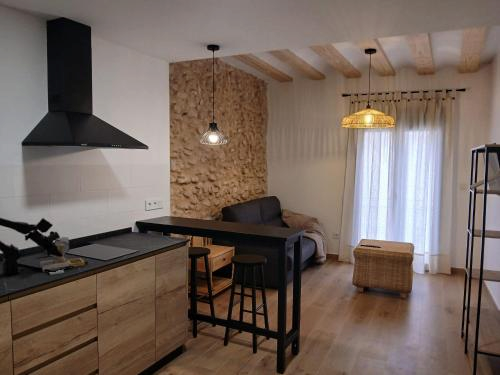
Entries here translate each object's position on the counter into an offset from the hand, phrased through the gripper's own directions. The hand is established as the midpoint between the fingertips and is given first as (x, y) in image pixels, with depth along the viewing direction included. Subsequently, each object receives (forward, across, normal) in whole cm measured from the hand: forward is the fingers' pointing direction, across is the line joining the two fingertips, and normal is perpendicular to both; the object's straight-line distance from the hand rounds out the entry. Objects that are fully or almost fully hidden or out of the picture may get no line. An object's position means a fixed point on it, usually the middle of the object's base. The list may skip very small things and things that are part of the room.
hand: (61, 255), depth 225 cm
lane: (+2, 0, +7) cm, 8 cm away
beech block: (+4, 0, +6) cm, 7 cm away
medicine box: (+9, +37, 0) cm, 38 cm away
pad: (+2, -10, +8) cm, 13 cm away
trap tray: (+10, 0, -1) cm, 10 cm away
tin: (+6, +28, +3) cm, 29 cm away
